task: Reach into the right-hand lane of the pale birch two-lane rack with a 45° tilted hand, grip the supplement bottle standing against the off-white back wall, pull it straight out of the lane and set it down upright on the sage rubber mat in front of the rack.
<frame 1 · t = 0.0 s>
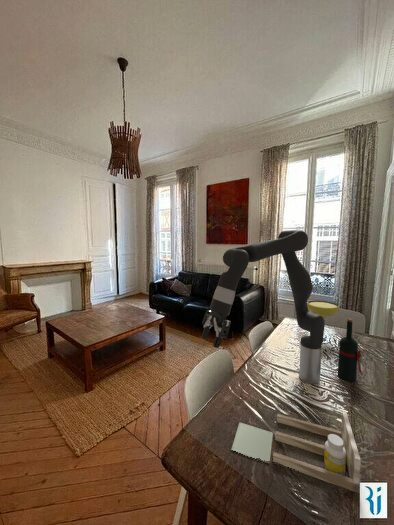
hand: (209, 342, 82), 31 cm above the table, tool tilted 20°, fingers open, 8 cm apart
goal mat: (252, 441, 77), on the table
wine bottle: (349, 379, 110), on the table
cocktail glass: (321, 340, 153), on the table
supplement bottle: (334, 470, 67), resting in lane rack
lane rack: (310, 450, 73), on the table
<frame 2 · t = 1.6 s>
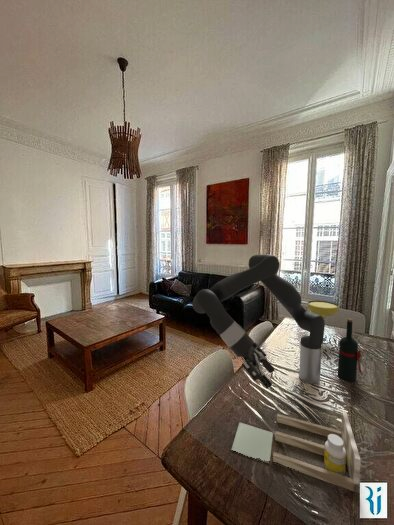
hand: (271, 378, 72), 24 cm above the table, tool tilted 45°, fingers open, 8 cm apart
nothing on the table moved.
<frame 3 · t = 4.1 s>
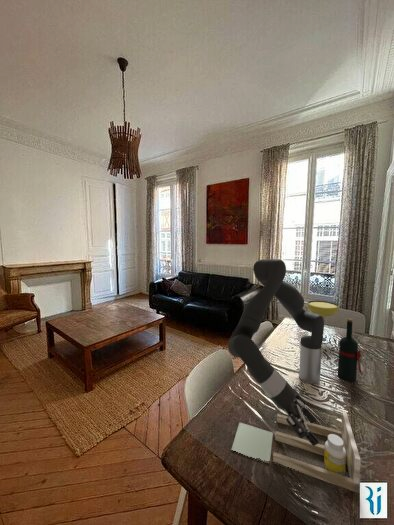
hand: (315, 431, 68), 10 cm above the table, tool tilted 45°, fingers open, 8 cm apart
nothing on the table moved.
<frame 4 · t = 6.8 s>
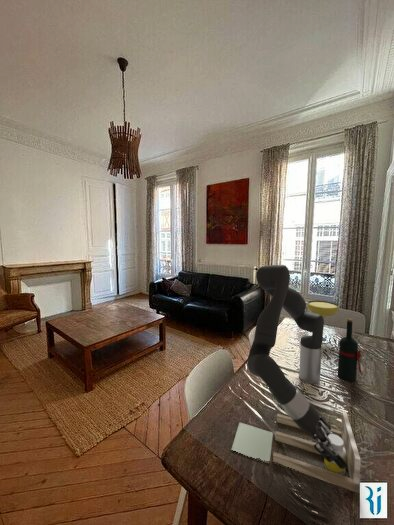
hand: (342, 457, 66), 5 cm above the table, tool tilted 45°, fingers closed on supplement bottle, 5 cm apart
supplement bottle: (334, 469, 67), resting in lane rack, touching gripper
everything else where it was.
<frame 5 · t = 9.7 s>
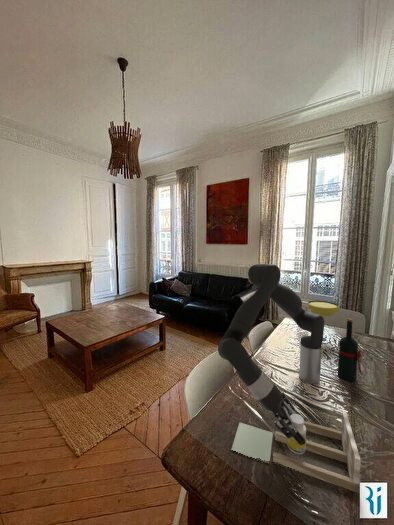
hand: (302, 435, 70), 8 cm above the table, tool tilted 45°, fingers closed on supplement bottle, 5 cm apart
supplement bottle: (295, 447, 71), point 3 cm above the table, touching gripper
everything else where it was.
when the fingers open (5 cm above the table, at t = 12.8 s): supplement bottle stays where it is, resting on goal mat.
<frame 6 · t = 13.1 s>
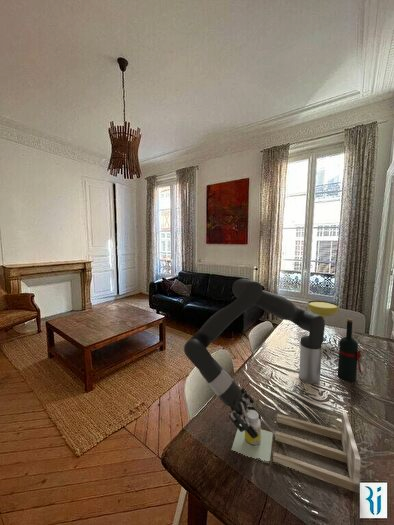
hand: (257, 427, 75), 6 cm above the table, tool tilted 45°, fingers open, 7 cm apart
supplement bottle: (252, 441, 77), resting on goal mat
everything else where it was.
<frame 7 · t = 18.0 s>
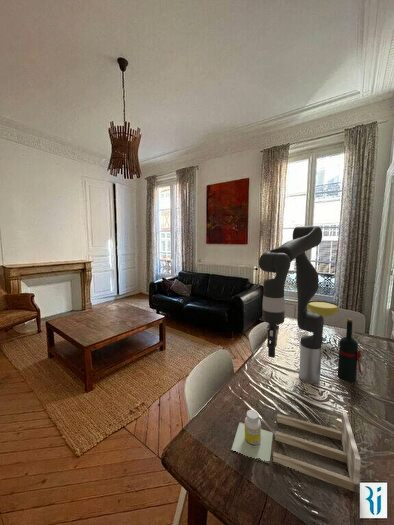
hand: (272, 351, 82), 28 cm above the table, tool pointing down, fingers open, 8 cm apart
nothing on the table moved.
at the end: supplement bottle inside the target area (0.1 cm from its centre), resting on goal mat; supplement bottle tilted 0°; the gripper is holding nothing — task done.
